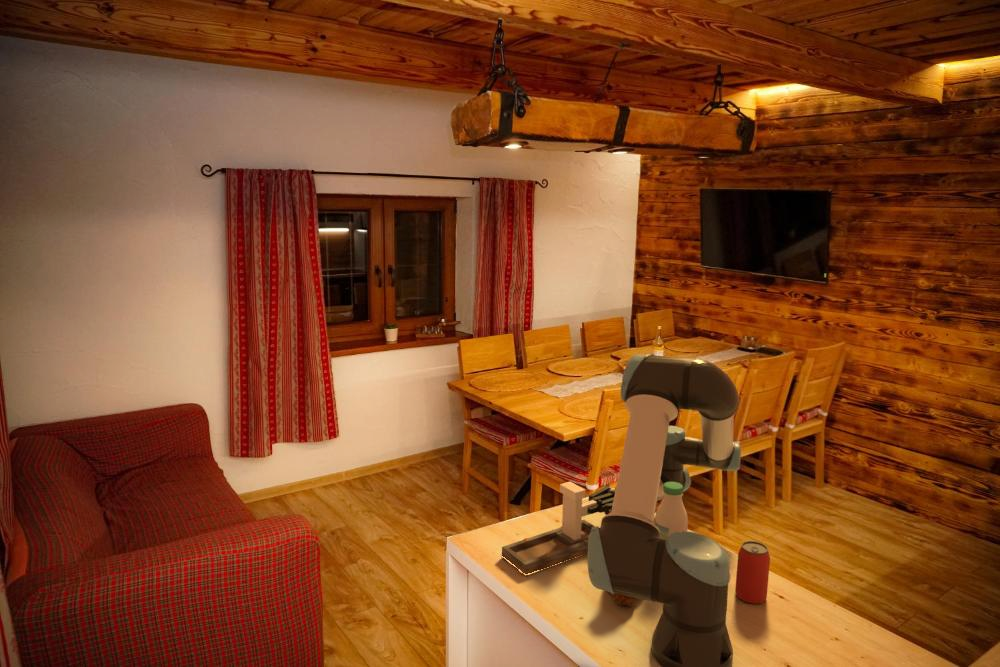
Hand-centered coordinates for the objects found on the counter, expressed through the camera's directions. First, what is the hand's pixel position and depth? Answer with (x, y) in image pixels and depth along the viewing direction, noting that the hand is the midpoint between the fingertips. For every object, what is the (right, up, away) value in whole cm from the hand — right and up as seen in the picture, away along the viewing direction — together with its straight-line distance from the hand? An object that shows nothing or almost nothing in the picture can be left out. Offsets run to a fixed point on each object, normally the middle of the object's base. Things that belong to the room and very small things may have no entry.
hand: (575, 512), depth 172 cm
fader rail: (-5, -9, -2) cm, 11 cm away
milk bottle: (+22, -11, -6) cm, 25 cm away
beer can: (+37, -14, -20) cm, 44 cm away
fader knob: (-1, -7, +1) cm, 7 cm away
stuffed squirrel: (+9, -13, -20) cm, 25 cm away
